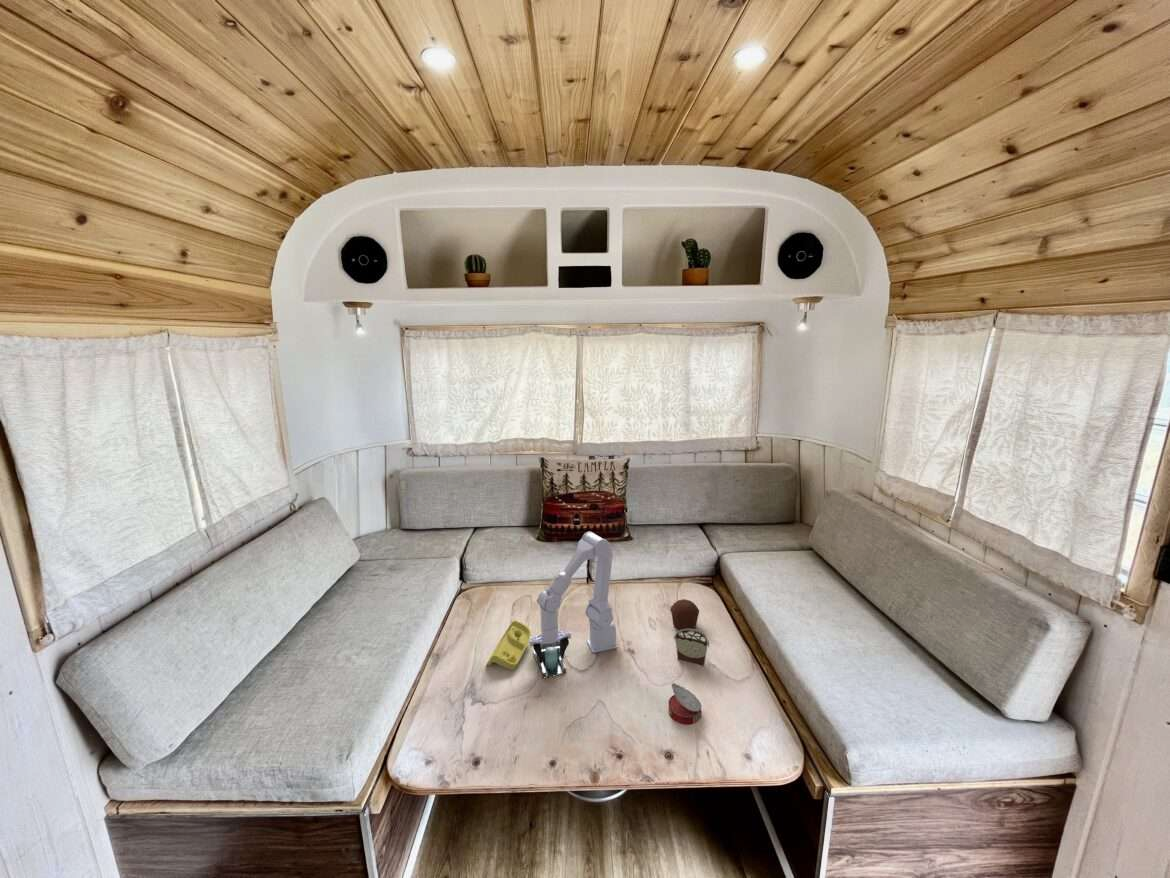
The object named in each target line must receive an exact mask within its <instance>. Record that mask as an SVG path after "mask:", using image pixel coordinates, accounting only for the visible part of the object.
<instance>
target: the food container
mask: <svg viewBox="0 0 1170 878" xmlns="http://www.w3.org/2000/svg"><path fill="white" fill-rule="evenodd" d="M673 640H675V647H676V656H677V658H676V659H677V661H679V662H685V663H689V664H692V665H695V666H701V667H705V663H706V658H707V657H706V656H707V649H708V648H710V642H709V641H710V640H709V638H708V636H707V634H705V633H704V632H702V631H701V630H699V629H696V628H694V629H682V630H677V631H676V633H675V634H674V636H673Z"/></svg>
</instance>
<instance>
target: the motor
mask: <svg viewBox="0 0 1170 878" xmlns="http://www.w3.org/2000/svg"><path fill="white" fill-rule="evenodd" d="M540 645H541V649H542V652H541V657H542V664H540V662H539V658H538V655H537V653H536V652H535V650H534V649H533V655H534V658H536V659H535V661H537V662H538V667H539V670H540V672H541V676H542V675H543V676H542V679H545V678H544V677H547V678H550V677H549V676H552V677H554V676H553V675H556V676H558V675H557V674H560V675H563V674H562V673H565V674H567V667H566V665H565V663H564V660H563V659H561V657H560V642H559V641H557V642H554V643H541V644H540ZM548 647H555V648H556V649H557V656H558V667H557V668H556V669H554V670H548V669H546V667H545V649H546V648H548ZM537 662H536V663H537Z"/></svg>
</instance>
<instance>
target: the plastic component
mask: <svg viewBox="0 0 1170 878" xmlns="http://www.w3.org/2000/svg"><path fill="white" fill-rule="evenodd" d="M510 623H511V624H509V626H508V627H507V630H506V631H505V633H504V634H503V636H502V637H501V638H500V640H499V642H498V644H497V645H496V647H495V649H494V650H493V652H492V654H491V656H490V657H489V659H488V661H487V662H486V664H485V665H486V666H488V667H489V666H491V664H492V663H496V664H498V665H500V666H501V667H503V668H505V669H507V670H509V671H512V669H513V670H515V669H516V668H517V666H518V664H519V662H520V660H521V658H522V656H523V655H524V652H525V650H526V648H527V646H528V644H529V639H530V638H532V633H531V629H530V627H529V626H527V625H526V624H524V623H522V622H521V621H518V620H517V619H515V620H513V621H512V622H510ZM514 668H515V669H514Z"/></svg>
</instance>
